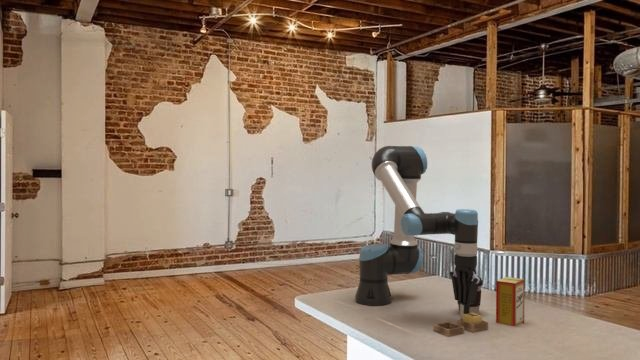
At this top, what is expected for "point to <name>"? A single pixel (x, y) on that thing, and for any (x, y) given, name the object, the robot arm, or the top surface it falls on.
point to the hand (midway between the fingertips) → (464, 322)
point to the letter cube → (472, 318)
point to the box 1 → (448, 329)
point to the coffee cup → (476, 301)
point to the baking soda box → (510, 301)
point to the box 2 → (473, 326)
